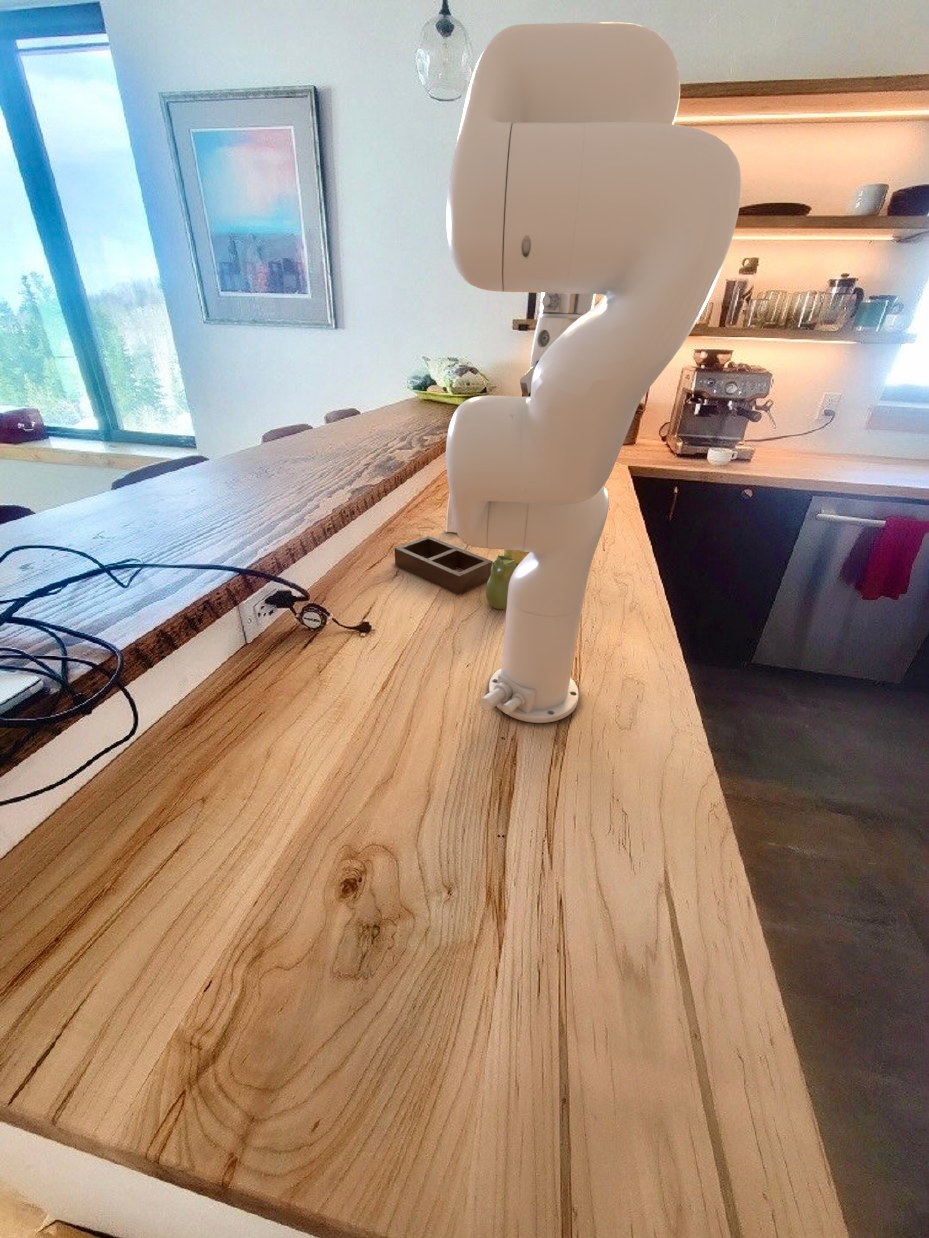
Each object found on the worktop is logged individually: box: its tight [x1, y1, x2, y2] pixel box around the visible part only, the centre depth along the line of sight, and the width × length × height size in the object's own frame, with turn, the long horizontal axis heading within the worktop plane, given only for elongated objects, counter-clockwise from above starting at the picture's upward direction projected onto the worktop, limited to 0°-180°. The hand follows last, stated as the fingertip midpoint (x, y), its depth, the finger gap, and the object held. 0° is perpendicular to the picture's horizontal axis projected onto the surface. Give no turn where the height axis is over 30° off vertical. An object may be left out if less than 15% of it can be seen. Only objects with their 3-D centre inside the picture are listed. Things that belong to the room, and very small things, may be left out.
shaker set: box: [445, 493, 457, 534], centre depth 122 cm, size 12×4×11 cm, turn 76°
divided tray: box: [393, 535, 494, 596], centre depth 104 cm, size 10×19×4 cm, turn 47°
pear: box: [485, 554, 516, 610], centre depth 90 cm, size 6×5×10 cm
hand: (551, 434), depth 79 cm, fingers open, 9 cm apart
